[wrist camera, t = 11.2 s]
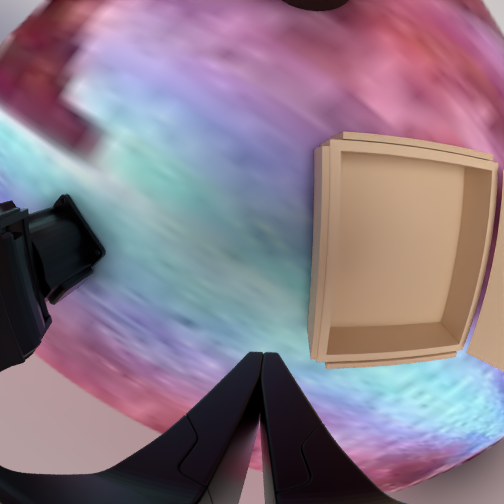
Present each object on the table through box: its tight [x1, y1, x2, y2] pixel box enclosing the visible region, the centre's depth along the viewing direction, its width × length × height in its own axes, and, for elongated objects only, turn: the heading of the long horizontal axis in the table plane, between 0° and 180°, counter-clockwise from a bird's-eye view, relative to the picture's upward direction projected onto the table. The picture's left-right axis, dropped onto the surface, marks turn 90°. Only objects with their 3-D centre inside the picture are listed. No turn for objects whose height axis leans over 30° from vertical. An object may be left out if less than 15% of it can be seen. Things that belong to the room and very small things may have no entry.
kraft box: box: [307, 131, 498, 369], centre depth 18 cm, size 12×15×4 cm
